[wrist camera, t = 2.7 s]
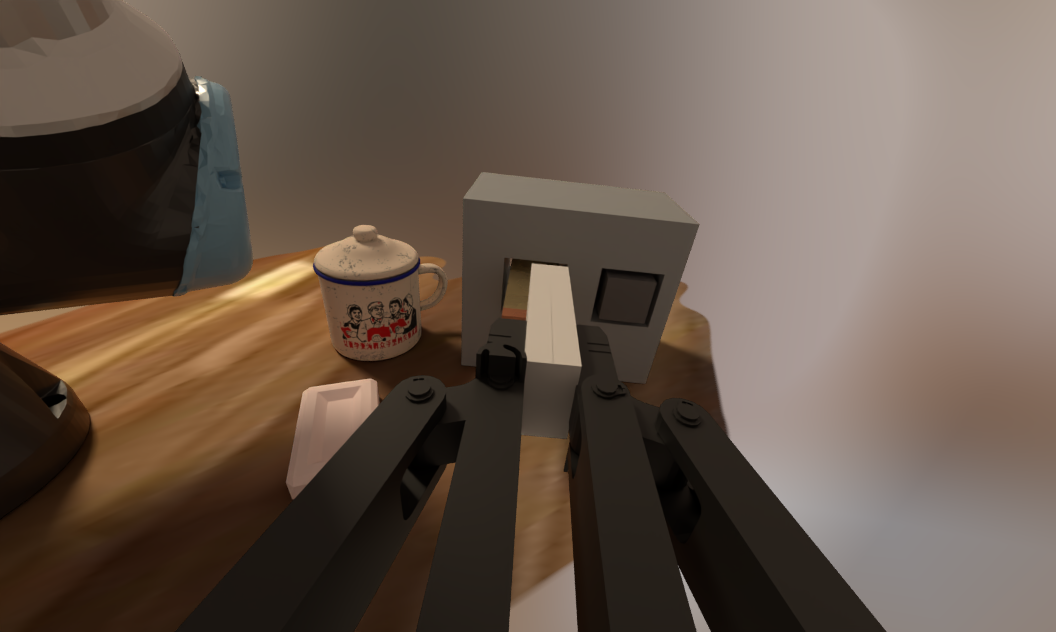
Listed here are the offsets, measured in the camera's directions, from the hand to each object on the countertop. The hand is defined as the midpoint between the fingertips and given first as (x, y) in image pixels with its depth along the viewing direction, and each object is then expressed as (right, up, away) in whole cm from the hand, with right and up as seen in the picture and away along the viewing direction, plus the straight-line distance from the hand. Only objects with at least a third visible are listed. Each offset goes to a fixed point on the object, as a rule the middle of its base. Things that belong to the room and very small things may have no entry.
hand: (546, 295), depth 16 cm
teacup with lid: (-15, -3, +24) cm, 29 cm away
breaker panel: (+2, -4, +25) cm, 26 cm away
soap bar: (-15, -11, +13) cm, 22 cm away
